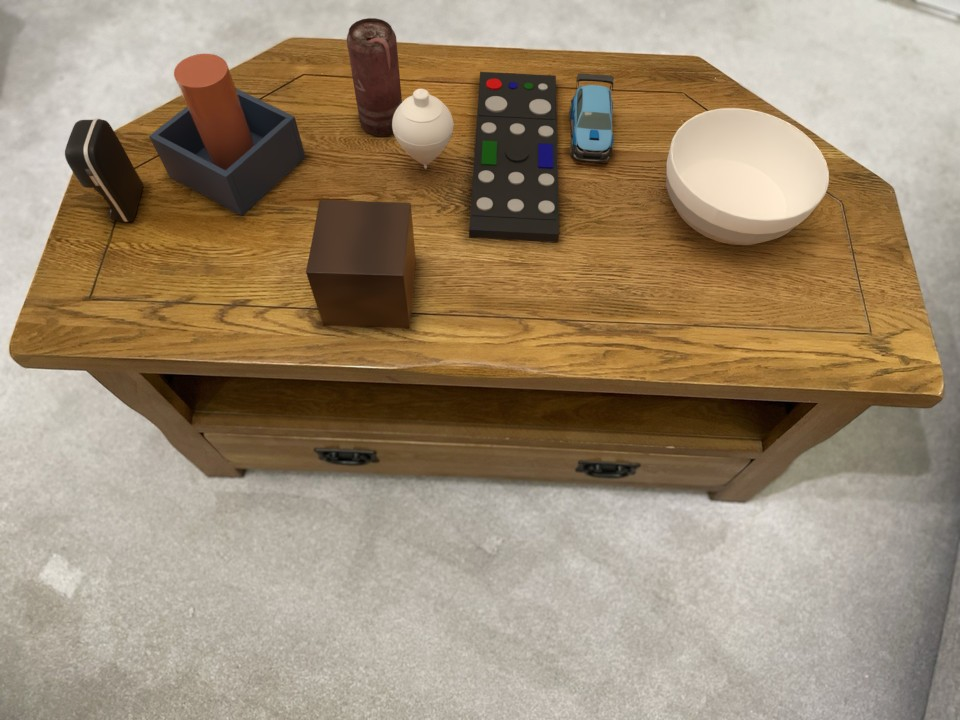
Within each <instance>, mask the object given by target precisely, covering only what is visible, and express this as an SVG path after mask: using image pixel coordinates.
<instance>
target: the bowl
mask: <svg viewBox="0 0 960 720" xmlns="http://www.w3.org/2000/svg"><path fill="white" fill-rule="evenodd" d="M665 165H666V166H665V168H666V171H665V182H666V190H667V193H668V196H669V199H670V201H671V203H672V204H673V207H674V208H675V210H676V211H677V213H678V215H679V217H680V218H681V219H682V220H683V221H684V222H685V223H686V225H688V226H689V227H690V228H691V229H693V230H694V231H695V232H697V233H699V234H700V235H702V236H704V237H706V238H708V239H711V240H713V241H715V242H719V243H723V244H727V245H734V246H748V245H749V246H750V245H756V244H760V243H765V242H768V241H772V240H776V239H779V238H781V237H783V236H785V235H788V233H790V232H791V231H793V229H795V228H796V227H797V226H798V225H801V223H802V222H804V221H805V220H807V218H809V216H810V215H811V214H812V213H813V211H814V210H815V209H816V208H817V206H818V205H819V204H820V203H821V202H822V200H823V199H824V197H825V196H826V193H827V190H828V187H829V183H830V181H829V178H830V172H829V167H828V164H827V161H826V158H825V157H824V155H823V152H822V151H821V149H820V148H819V147H818V146H817V144H816V143H815V142H814V141H813V140H812V139H811V138H810V136H808V135H807V134H806V133H805V132H804V131H802V130H801V129H799V128H798V127H796V126H795V125H793V124H792V123H790V122H788V121H786V120H783V119H782V118H780V117H778V116H775V115H772V114H770V113H766V112H763V111H759V110H755V109H750V108H739V107H723V108H716V109H712V110H711V109H710V110H706V111H704V112H701V113H699V114H696V115H694V116H692V117H691V118H689V119H688V120H686V121H685V122H683V123H682V125H680V127H679V128H678V129H677V130H676V131H675V133H674V135H673V137H672V139H671V142H670V147H669V149H668V154H667V159H666V164H665Z"/></svg>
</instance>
